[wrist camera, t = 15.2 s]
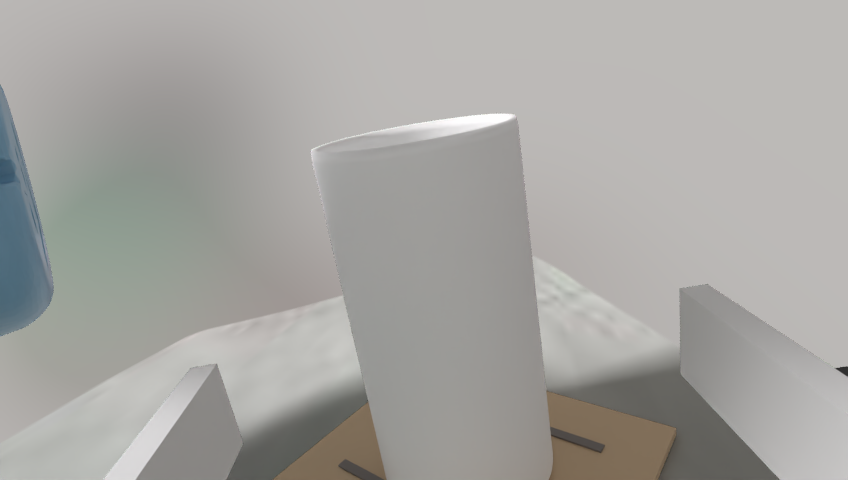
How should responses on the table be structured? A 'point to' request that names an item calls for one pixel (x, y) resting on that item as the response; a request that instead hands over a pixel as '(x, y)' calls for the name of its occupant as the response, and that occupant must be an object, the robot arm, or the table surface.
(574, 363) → the table surface
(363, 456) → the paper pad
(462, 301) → the cup
